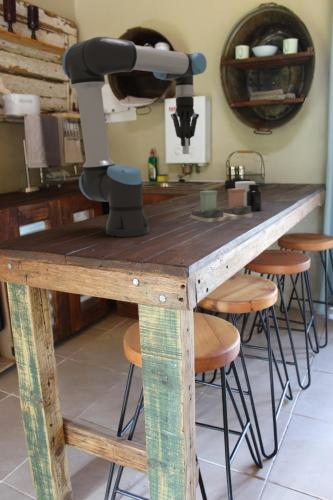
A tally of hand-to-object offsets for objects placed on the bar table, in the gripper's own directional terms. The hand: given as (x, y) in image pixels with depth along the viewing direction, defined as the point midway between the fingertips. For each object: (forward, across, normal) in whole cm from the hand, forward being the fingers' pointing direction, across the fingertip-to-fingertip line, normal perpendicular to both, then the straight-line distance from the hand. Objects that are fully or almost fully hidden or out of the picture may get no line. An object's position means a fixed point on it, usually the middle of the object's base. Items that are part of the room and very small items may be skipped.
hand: (185, 153), depth 188 cm
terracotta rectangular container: (+25, -13, +19) cm, 34 cm away
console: (+26, -6, +18) cm, 33 cm away
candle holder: (+27, -35, -3) cm, 44 cm away
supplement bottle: (+27, -30, +10) cm, 41 cm away
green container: (+25, +1, +19) cm, 31 cm away
